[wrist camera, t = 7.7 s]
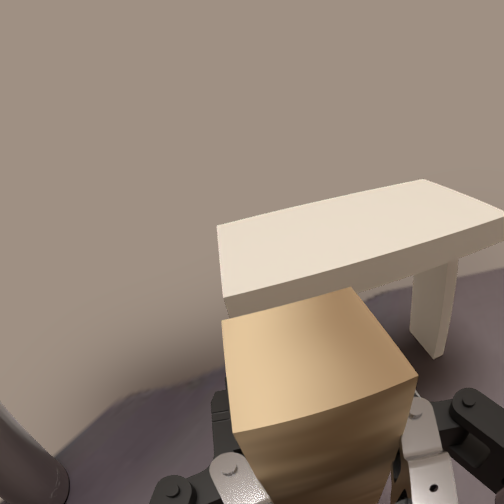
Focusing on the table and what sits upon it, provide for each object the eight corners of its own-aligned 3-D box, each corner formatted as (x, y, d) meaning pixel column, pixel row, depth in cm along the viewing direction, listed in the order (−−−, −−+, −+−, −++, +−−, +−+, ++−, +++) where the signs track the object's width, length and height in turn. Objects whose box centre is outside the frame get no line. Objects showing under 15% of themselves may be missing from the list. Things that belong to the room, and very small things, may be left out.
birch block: (287, 530, 10) (232, 432, 6) (271, 460, 14) (221, 320, 10) (377, 502, 10) (418, 375, 6) (350, 438, 14) (350, 286, 10)
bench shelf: (279, 465, 24) (223, 300, 16) (258, 370, 36) (216, 221, 28) (471, 388, 24) (512, 215, 17) (413, 321, 37) (416, 176, 29)
